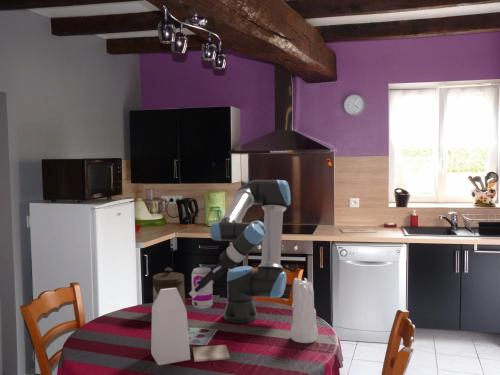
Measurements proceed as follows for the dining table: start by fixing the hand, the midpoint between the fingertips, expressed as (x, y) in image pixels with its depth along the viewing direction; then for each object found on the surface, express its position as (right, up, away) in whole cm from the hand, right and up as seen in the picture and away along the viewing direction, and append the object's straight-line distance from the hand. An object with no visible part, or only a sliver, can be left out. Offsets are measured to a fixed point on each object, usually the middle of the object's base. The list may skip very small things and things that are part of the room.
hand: (196, 292), depth 211 cm
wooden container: (-17, -17, +36) cm, 44 cm away
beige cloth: (+7, -21, -12) cm, 25 cm away
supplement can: (+2, -5, -1) cm, 6 cm away
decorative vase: (+44, -19, +3) cm, 48 cm away
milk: (-8, -21, -14) cm, 27 cm away
